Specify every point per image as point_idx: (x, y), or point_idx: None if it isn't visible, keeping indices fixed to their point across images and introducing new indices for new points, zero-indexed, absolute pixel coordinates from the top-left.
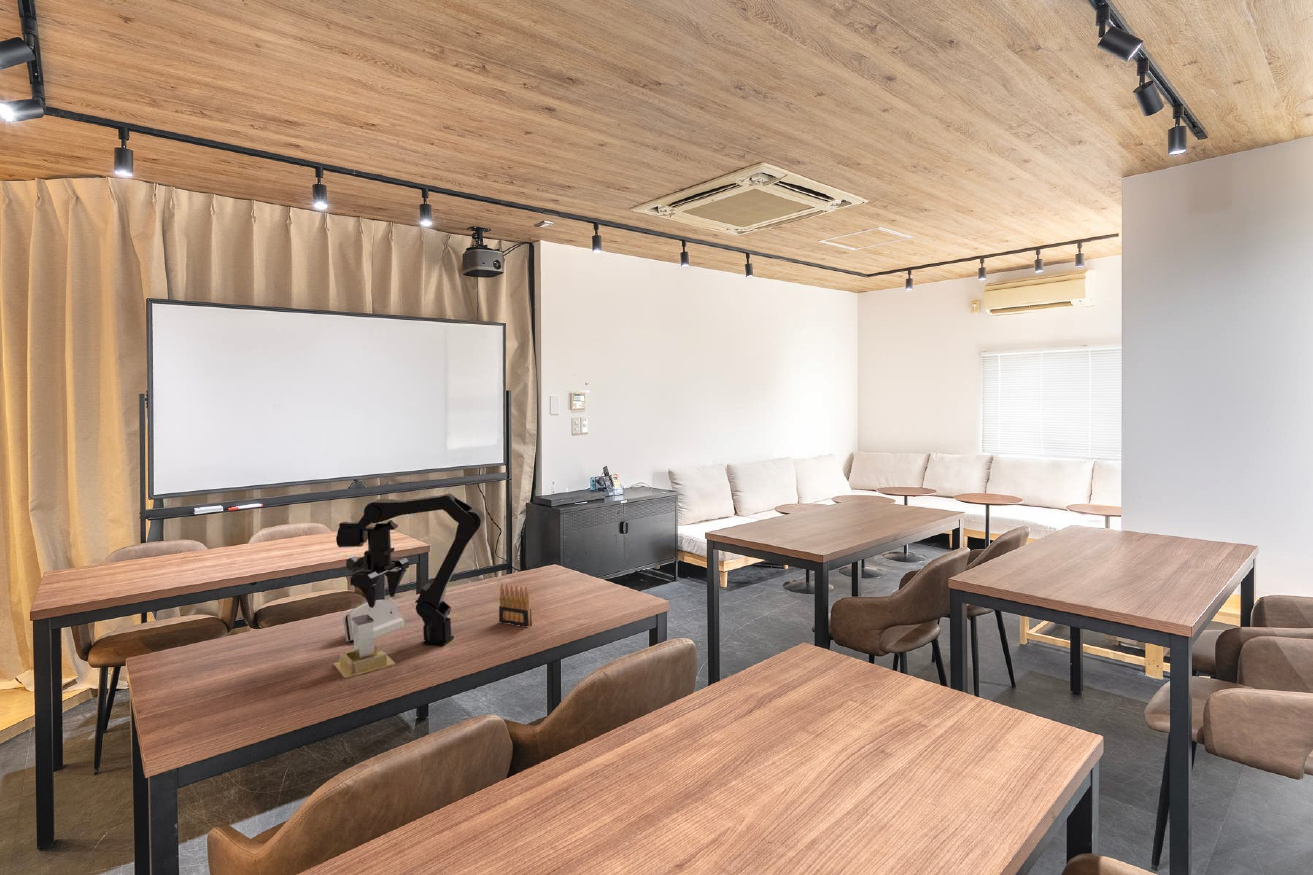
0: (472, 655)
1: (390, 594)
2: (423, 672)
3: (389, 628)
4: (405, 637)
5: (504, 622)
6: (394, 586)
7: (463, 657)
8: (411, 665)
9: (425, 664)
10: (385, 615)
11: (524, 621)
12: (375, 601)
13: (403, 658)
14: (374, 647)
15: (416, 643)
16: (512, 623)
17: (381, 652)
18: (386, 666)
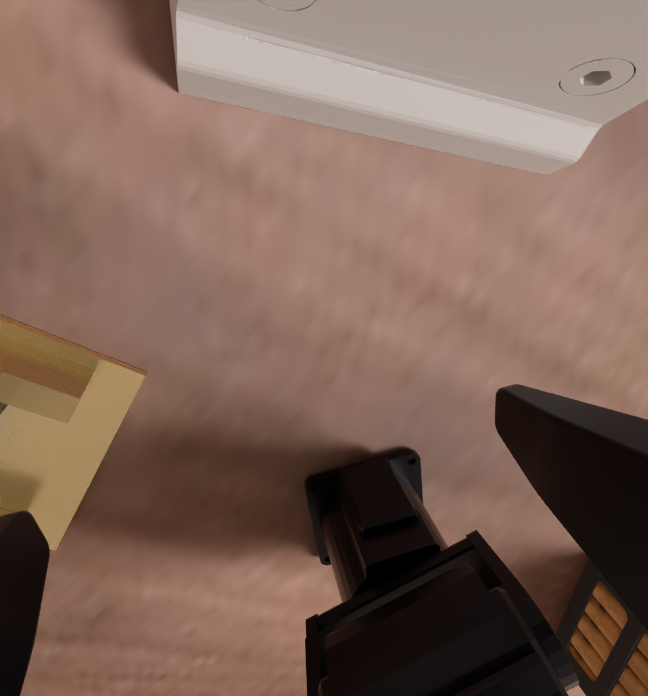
0: (281, 682)
1: (513, 410)
2: (66, 675)
3: (452, 142)
4: (373, 324)
5: (587, 574)
6: (608, 550)
7: (254, 675)
8: (93, 599)
9: (133, 630)
10: (537, 67)
11: (569, 655)
12: (25, 657)
13: (136, 520)
14: (54, 415)
15: (316, 437)
16: (575, 602)
17: (121, 391)
18: None
